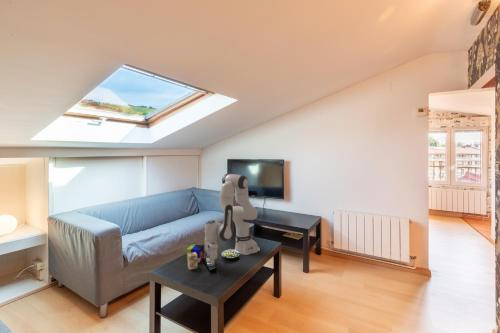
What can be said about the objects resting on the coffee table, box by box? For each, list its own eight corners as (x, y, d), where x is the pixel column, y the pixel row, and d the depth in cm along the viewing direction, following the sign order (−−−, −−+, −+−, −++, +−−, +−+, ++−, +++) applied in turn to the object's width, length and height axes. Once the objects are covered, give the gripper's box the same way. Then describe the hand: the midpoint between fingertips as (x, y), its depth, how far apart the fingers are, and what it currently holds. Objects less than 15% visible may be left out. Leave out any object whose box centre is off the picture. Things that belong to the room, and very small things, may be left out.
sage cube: (212, 263, 195) (212, 257, 195) (214, 266, 191) (214, 259, 191) (206, 264, 193) (206, 258, 193) (207, 267, 189) (207, 260, 188)
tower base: (195, 264, 192) (195, 258, 192) (197, 268, 187) (197, 261, 187) (187, 266, 190) (187, 259, 190) (189, 269, 185) (189, 263, 184)
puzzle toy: (198, 262, 196) (198, 250, 196) (186, 261, 198) (186, 249, 198) (203, 257, 206) (203, 245, 206) (192, 256, 208) (192, 244, 208)
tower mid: (195, 258, 192) (195, 252, 192) (197, 261, 187) (197, 255, 186) (187, 259, 190) (187, 253, 189) (189, 263, 184) (189, 256, 184)
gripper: (202, 238, 198) (202, 256, 199) (210, 247, 180) (210, 266, 180) (210, 237, 201) (210, 254, 201) (219, 246, 183) (218, 265, 183)
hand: (210, 260), depth 191 cm, fingers open, 8 cm apart
